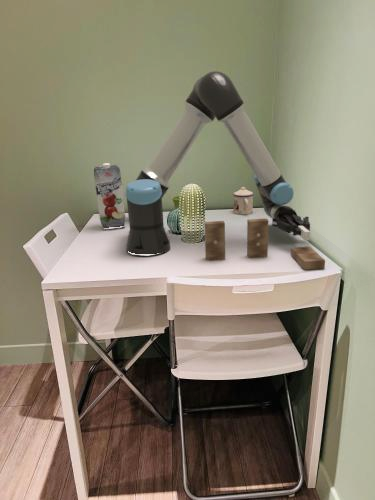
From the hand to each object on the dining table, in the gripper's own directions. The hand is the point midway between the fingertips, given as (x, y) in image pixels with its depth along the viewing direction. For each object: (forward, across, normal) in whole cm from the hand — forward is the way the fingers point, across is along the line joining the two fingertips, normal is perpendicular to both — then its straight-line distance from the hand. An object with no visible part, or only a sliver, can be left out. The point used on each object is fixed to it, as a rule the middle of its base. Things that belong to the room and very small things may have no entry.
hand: (307, 236), depth 112 cm
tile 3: (-3, +1, -6) cm, 7 cm away
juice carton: (-49, +66, -8) cm, 83 cm away
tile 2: (-5, +14, -8) cm, 17 cm away
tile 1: (-5, +28, -8) cm, 29 cm away
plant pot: (-62, +35, -9) cm, 72 cm away
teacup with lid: (-60, +7, -8) cm, 61 cm away
